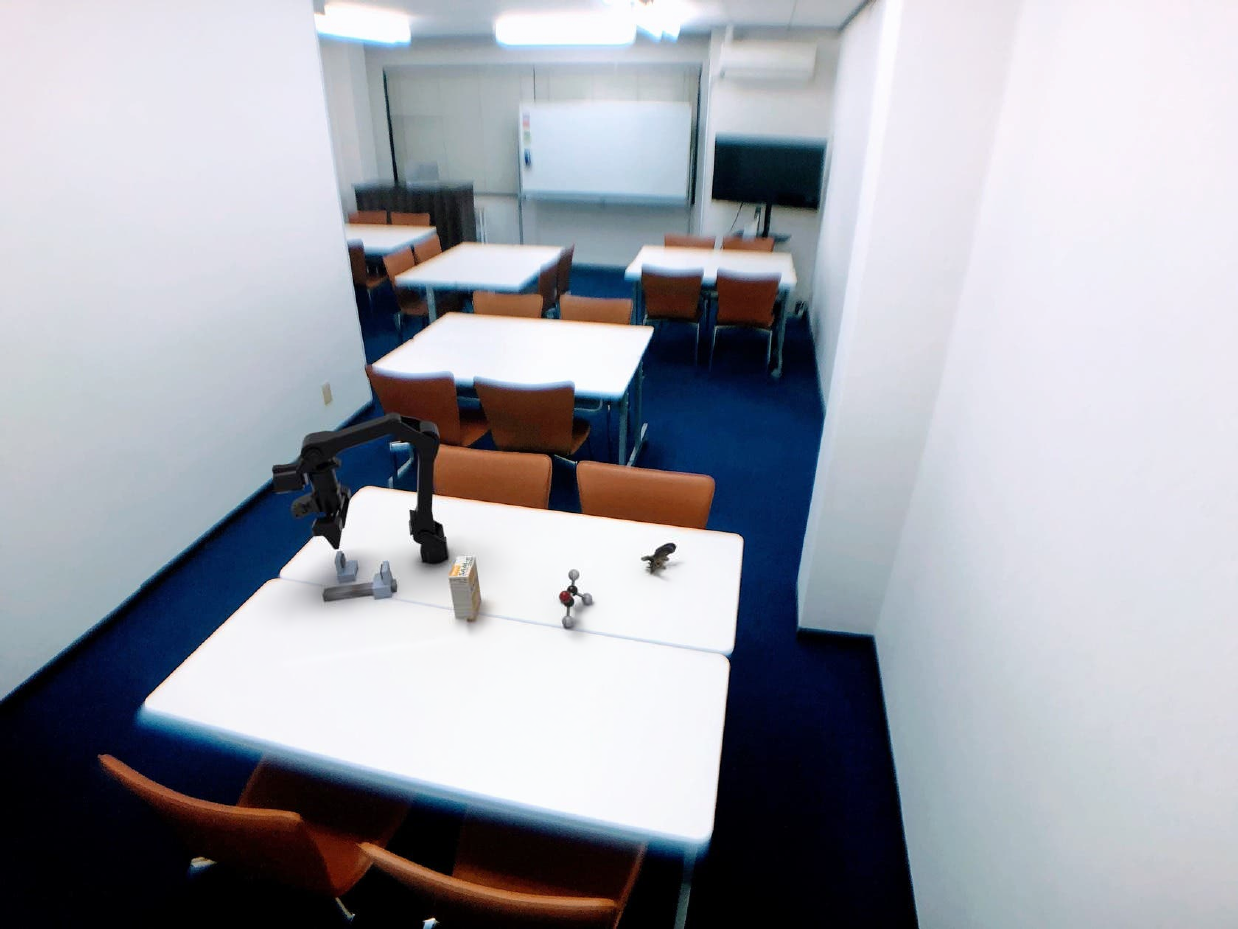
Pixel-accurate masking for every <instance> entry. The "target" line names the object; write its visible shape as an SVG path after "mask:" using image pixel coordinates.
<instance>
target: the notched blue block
mask: <svg viewBox="0 0 1238 929" xmlns="http://www.w3.org/2000/svg"><path fill="white" fill-rule="evenodd" d="M333 562H334V565H335V569H336V572H337V580H338V584H344V583H350V582H357V576H356V575H357V570H358V569H359V563H358V560H357V559H354V560H347V559H346V557H345V553H344V552H343V550H338V551H336V554H335V557H334V561H333Z"/></svg>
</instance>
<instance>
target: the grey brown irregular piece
mask: <svg viewBox="0 0 1238 929" xmlns="http://www.w3.org/2000/svg"><path fill="white" fill-rule="evenodd" d="M677 546H678V545H676V544H675V542H668V543H667V542H666V543H665V544H663V545H660V546H659V547H657V548H656V549H655V550H654V551H655V552H654V554H652V555H644V556H642V557H640V560H641V561H642V562H647V564H648V566H646V569H650V571H649V575H652V574H653V573H655V571H656V569H660V568H663V569H664V570H667V567H666V564H665V563H664V562H663V560H668V559H669V557H668V556H669V555H671V554H673V553H675V552H676V549H677ZM648 561H649V562H648Z"/></svg>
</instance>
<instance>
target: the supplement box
mask: <svg viewBox="0 0 1238 929" xmlns="http://www.w3.org/2000/svg"><path fill="white" fill-rule="evenodd" d="M476 558H477V557H476V556H456V557H455V561H454V563H453V565H452V568H451V570H450V572H449V573H450V574H449V575H448V581H449V582H448V584H449V587H450V588H449V589H450V595H451V600H452V605H453V611H454V618H455V619H466V621H467V622H475V621H476V617H477V614H478V613H477V612H478V609H479V606H480V604H481V601H482V596H481V590H480V588H481V587H480V580H479V575H478V574H479V573H478V565H477V559H476Z"/></svg>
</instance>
